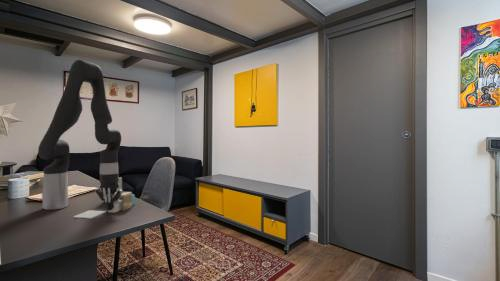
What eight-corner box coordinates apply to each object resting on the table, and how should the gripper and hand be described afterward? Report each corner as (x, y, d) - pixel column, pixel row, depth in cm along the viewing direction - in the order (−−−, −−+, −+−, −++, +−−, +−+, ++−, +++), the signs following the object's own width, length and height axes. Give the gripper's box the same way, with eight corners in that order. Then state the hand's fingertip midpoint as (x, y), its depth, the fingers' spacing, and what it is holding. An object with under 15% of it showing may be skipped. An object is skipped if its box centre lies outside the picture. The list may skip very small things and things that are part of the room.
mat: (72, 217, 106) (72, 216, 106) (89, 211, 115) (89, 210, 115) (91, 218, 105) (91, 217, 105) (106, 212, 113) (106, 211, 113)
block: (119, 206, 122) (119, 196, 122) (125, 203, 127) (125, 194, 127) (128, 206, 122) (128, 197, 121) (134, 204, 127) (134, 194, 126)
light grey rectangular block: (108, 212, 113) (108, 204, 113) (121, 206, 122) (120, 199, 122) (115, 212, 113) (114, 205, 113) (127, 206, 122) (127, 199, 122)
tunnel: (107, 209, 117) (107, 194, 116) (116, 206, 123) (116, 191, 122) (124, 210, 116) (123, 195, 115) (131, 206, 121) (131, 192, 121)
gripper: (89, 173, 109) (90, 211, 109) (116, 174, 107) (117, 213, 107) (102, 170, 116) (102, 206, 117) (127, 171, 114) (128, 208, 115)
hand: (109, 209), depth 112 cm, fingers closed
